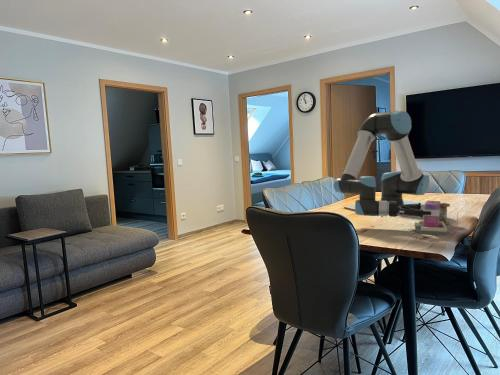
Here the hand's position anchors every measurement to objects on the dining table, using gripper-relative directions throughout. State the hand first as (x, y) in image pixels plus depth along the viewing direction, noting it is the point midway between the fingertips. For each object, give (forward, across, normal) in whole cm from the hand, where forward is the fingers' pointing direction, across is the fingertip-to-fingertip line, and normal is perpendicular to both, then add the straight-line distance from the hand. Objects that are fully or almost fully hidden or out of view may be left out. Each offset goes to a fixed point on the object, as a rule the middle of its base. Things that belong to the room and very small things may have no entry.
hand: (437, 210), depth 169 cm
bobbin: (+4, -15, -9) cm, 18 cm away
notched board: (-2, 0, -9) cm, 10 cm away
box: (-2, 0, -8) cm, 9 cm away
